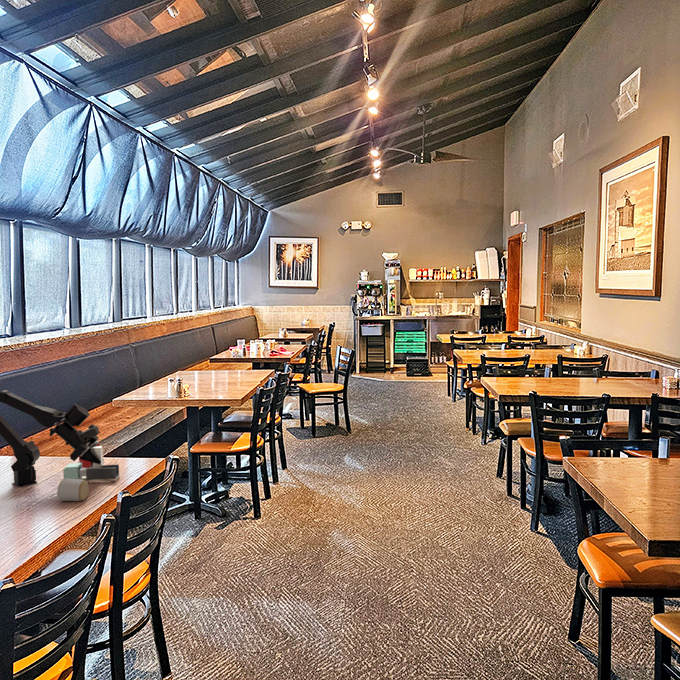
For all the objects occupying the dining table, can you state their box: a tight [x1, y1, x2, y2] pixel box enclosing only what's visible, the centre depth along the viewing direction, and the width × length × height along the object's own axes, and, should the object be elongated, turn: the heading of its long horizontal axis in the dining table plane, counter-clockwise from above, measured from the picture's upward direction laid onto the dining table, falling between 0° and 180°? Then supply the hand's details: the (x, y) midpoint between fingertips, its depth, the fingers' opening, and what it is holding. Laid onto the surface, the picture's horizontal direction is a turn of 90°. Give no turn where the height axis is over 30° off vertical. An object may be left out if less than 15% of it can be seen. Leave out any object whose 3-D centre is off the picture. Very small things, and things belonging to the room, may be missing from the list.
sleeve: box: [86, 464, 120, 480], centre depth 223 cm, size 11×5×4 cm, turn 98°
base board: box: [80, 474, 120, 483], centre depth 222 cm, size 19×6×1 cm, turn 98°
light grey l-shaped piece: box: [78, 445, 104, 477], centre depth 222 cm, size 12×3×11 cm, turn 98°
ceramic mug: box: [56, 477, 90, 502], centre depth 202 cm, size 11×8×8 cm
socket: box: [62, 462, 82, 479], centre depth 221 cm, size 5×6×5 cm
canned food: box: [78, 439, 100, 468], centre depth 239 cm, size 8×8×11 cm
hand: (101, 462), depth 222 cm, fingers closed on light grey l-shaped piece, 3 cm apart
